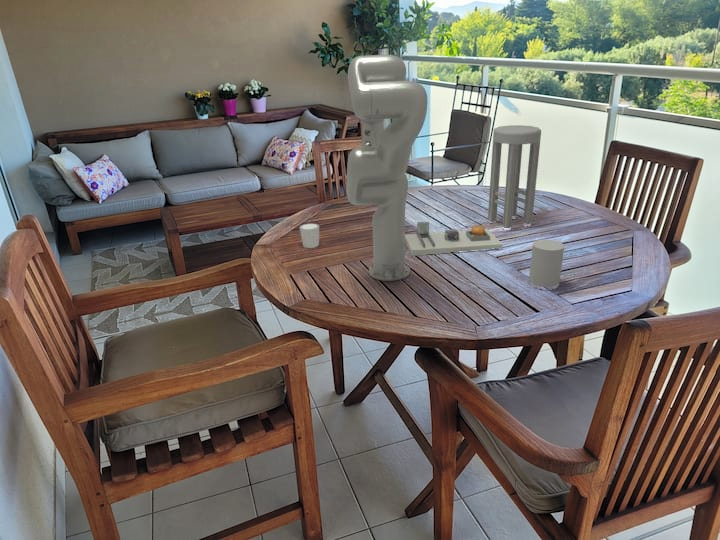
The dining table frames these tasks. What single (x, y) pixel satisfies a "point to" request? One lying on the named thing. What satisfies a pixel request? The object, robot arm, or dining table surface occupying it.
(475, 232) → the push button
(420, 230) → the grey slider handle
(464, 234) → the switch panel
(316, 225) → the shot glass
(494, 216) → the stool
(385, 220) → the robot arm
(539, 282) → the cup
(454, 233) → the rocker switch
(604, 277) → the dining table surface
